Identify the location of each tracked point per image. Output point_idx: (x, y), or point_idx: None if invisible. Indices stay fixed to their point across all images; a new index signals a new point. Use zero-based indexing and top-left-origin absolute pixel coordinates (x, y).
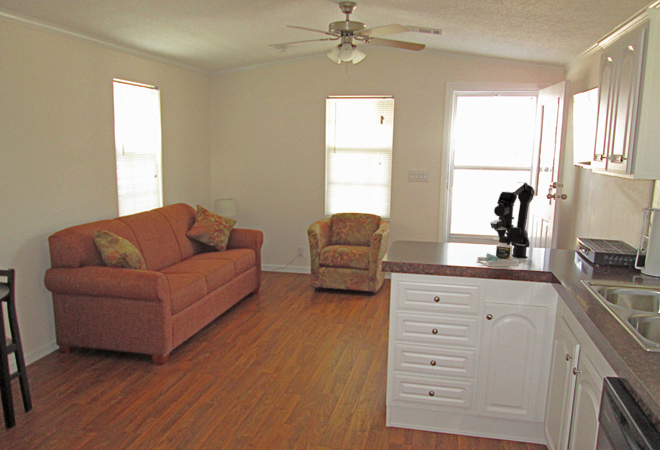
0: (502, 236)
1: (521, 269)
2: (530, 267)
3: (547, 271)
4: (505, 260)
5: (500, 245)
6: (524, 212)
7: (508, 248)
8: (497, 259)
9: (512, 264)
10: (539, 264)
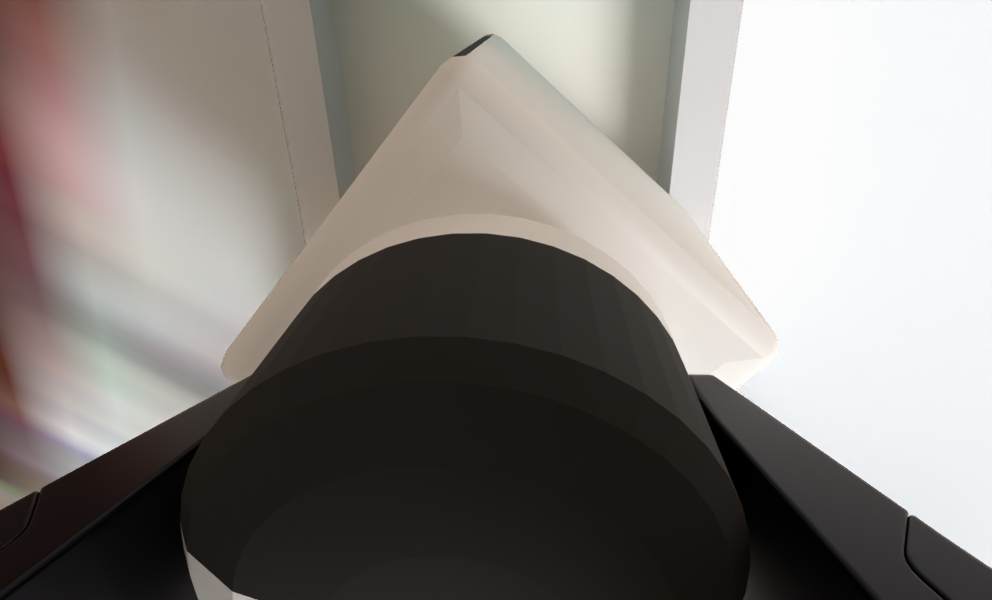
0: (455, 525)
1: (74, 225)
2: None
3: (28, 462)
4: (327, 155)
5: (433, 203)
6: None
7: (252, 317)
8: (658, 178)
9: None
10: None
